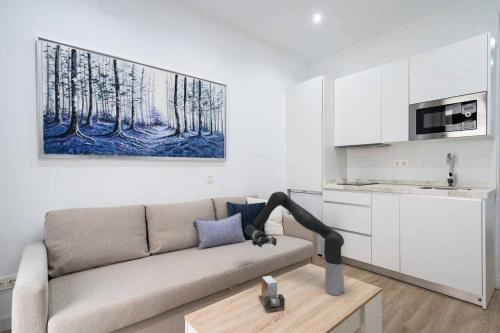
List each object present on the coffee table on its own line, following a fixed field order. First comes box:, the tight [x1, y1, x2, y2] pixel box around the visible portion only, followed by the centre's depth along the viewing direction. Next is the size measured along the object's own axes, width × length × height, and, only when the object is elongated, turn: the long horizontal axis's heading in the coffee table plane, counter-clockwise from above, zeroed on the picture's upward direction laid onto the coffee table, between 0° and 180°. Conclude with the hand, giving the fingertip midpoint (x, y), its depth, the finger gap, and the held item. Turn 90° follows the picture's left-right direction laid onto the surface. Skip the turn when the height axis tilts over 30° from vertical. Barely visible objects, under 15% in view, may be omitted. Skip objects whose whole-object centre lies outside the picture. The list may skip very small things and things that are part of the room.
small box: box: [261, 275, 278, 300], centre depth 128 cm, size 8×6×10 cm
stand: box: [258, 293, 286, 314], centre depth 126 cm, size 9×14×6 cm, turn 15°
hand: (268, 244), depth 139 cm, fingers open, 8 cm apart
